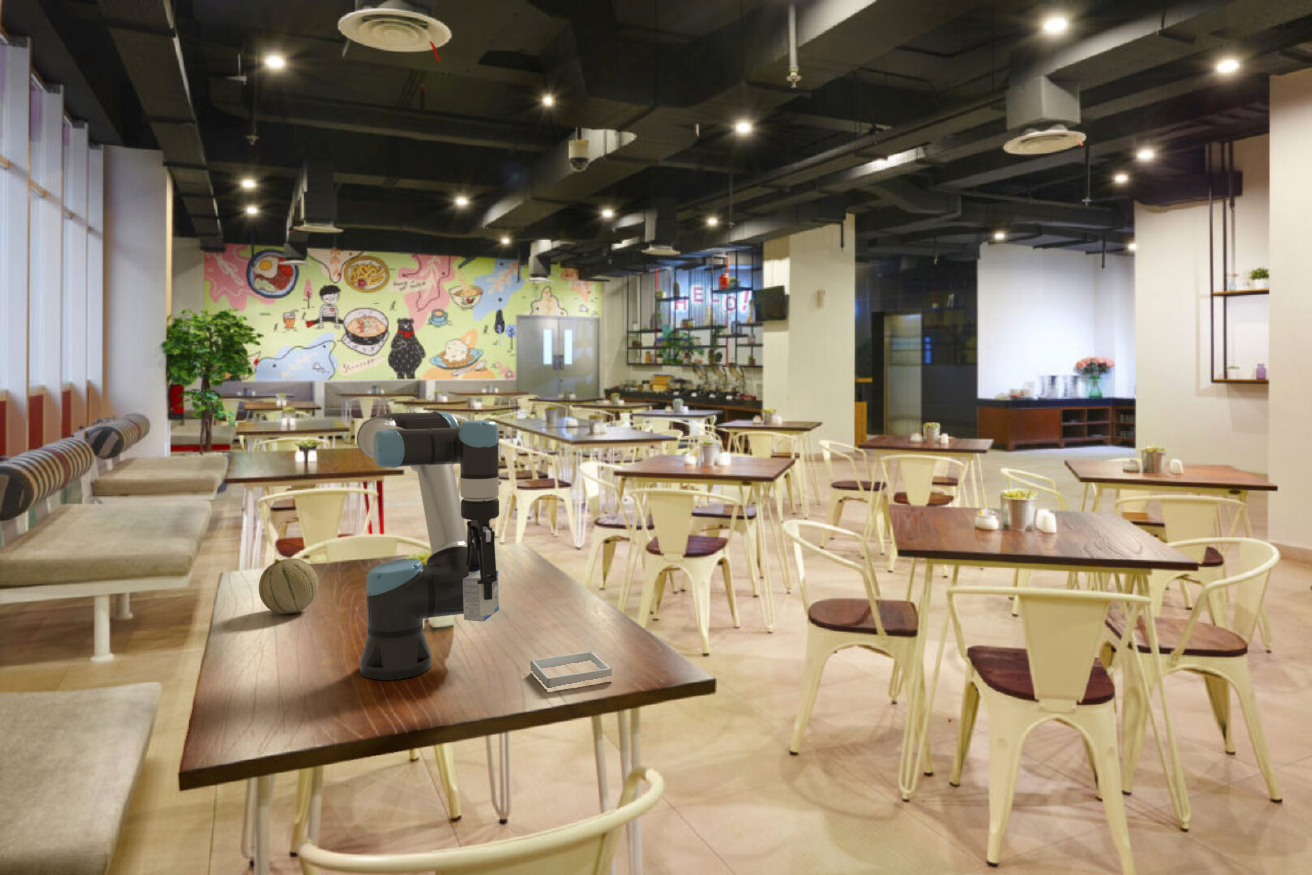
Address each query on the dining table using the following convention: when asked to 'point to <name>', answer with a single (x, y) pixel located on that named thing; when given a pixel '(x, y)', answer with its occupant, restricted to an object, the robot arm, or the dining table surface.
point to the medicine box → (476, 597)
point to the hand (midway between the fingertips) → (481, 608)
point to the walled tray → (570, 678)
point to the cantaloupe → (288, 586)
